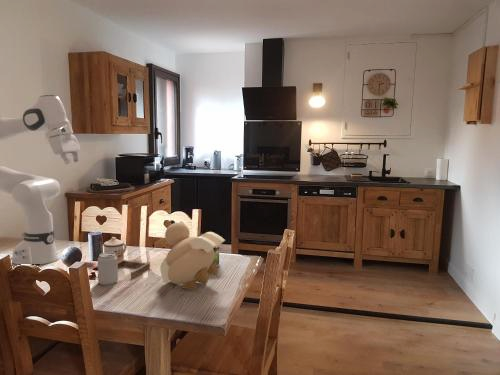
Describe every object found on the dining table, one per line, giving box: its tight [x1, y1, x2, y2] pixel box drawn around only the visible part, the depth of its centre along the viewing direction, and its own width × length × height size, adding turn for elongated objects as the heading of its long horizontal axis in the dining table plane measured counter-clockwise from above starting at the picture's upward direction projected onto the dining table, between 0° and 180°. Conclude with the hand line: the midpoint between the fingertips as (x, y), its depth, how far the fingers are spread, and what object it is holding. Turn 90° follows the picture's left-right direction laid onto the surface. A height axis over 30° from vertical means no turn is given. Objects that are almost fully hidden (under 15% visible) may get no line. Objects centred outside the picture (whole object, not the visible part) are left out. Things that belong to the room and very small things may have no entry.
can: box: [97, 252, 119, 286], centre depth 153 cm, size 8×8×12 cm
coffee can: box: [197, 232, 220, 267], centre depth 177 cm, size 10×10×14 cm
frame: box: [118, 259, 151, 279], centre depth 167 cm, size 14×13×2 cm
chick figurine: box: [159, 220, 226, 293], centre depth 151 cm, size 30×28×23 cm
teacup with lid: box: [103, 236, 127, 263], centre depth 181 cm, size 12×9×12 cm
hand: (72, 162), depth 163 cm, fingers open, 8 cm apart
